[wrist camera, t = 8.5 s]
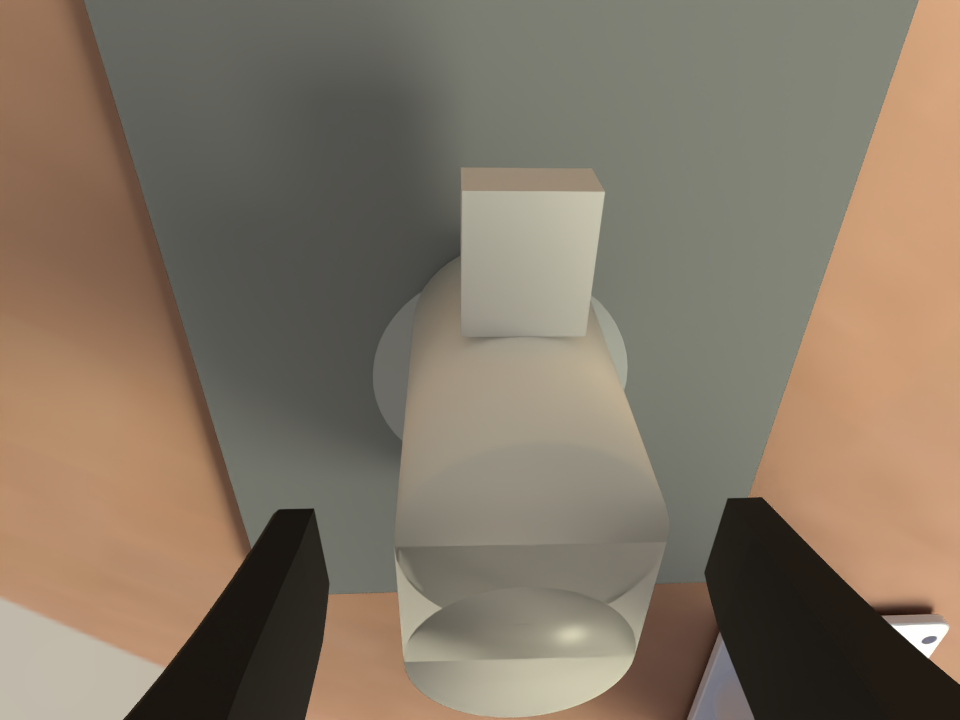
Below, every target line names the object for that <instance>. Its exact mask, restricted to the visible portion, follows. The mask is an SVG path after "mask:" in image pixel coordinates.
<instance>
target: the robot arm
mask: <svg viewBox="0 0 960 720" xmlns="http://www.w3.org/2000/svg"><path fill="white" fill-rule="evenodd" d="M704 575H705V579H706V583H707V587H708V591H709V595H710V598H711V602H712V606H713V610H714V613H715V617H716V620H717V624H718V628H719V631H720V632H719V635H718V637H717V640H716V643H715V645H714V648H713V651H712V653H711V656H710V659H709V662H708V664H707V667H706V670H705V672H704V675H703V678H702V680H701V683H700V686H699V688H698V691H697V694H696V697H695V699H694V702H693V705H692V707H691V710H690V713H689V715H688V718H687V720H960V685H959V684H958V683H957V682H956V681H955V680H953V679H952V678H951V677H950V676H949V675H947V674H946V673H945V672H944V671H943V670H941V669H940V668H939V667H938V666H937V665H935V664H934V663H933V662H932V661H931V660H930V659H928V658H929V656H930V655H931V654H932V652H933V651H934V649H935V648H936V647H937V645H938V644H939V643H940V641H941V640H942V638H943V637H944V636H945V634H946V633H947V631H948V629H949V625H948V623H947V622H946V621H945V619H944V618H943V616H941V615H938V614H917V615H887V616H881V615H879V614H878V613H877V612H876V611H875V610H874V609H873V608H872V607H871V606H870V605H869V604H868V603H867V602H866V601H865V600H864V599H863V598H862V597H860V596H859V595H858V594H857V593H856V592H855V591H854V590H853V589H852V588H851V587H850V586H849V585H848V584H847V583H846V582H845V581H844V580H843V579H842V578H841V577H840V576H839V575H838V574H837V573H836V572H835V571H834V570H833V569H832V568H831V567H830V566H829V565H828V564H827V563H826V562H825V561H824V560H823V559H822V558H821V557H820V556H819V555H818V554H817V553H816V552H815V551H814V550H813V549H812V548H811V547H810V546H809V545H808V544H807V543H806V542H805V541H804V540H803V539H802V538H801V537H800V536H799V535H798V534H797V533H796V532H795V531H794V530H793V529H792V528H791V527H790V526H789V525H788V523H787V522H786V521H785V520H784V519H783V518H782V517H781V516H780V515H779V514H778V513H777V512H776V511H775V510H774V509H773V508H772V507H771V506H770V505H769V504H768V503H767V502H766V501H765V500H764V499H763V498H762V497H758V498H727V501H726V505H725V508H724V511H723V514H722V517H721V521H720V524H719V527H718V530H717V533H716V536H715V540H714V543H713V546H712V549H711V552H710V556H709V559H708V562H707V565H706V568H705V571H704ZM329 585H330V583H329V578H328V573H327V568H326V563H325V558H324V554H323V549H322V544H321V539H320V534H319V529H318V524H317V520H316V515H315V510H314V508H310V509H278V510H277V511H276V512H275V513H274V514H273V515H272V517H271V518H270V520H269V522H268V523H267V525H266V527H265V528H264V530H263V532H262V533H261V535H260V536H259V538H258V540H257V541H256V543H255V544H254V546H253V548H252V549H251V551H250V552H249V554H248V555H247V557H246V558H245V560H244V562H243V563H242V565H241V566H240V568H239V569H238V571H237V572H236V574H235V575H234V577H233V578H232V580H231V581H230V582H229V584H228V585H227V587H226V588H225V590H224V591H223V592H222V594H221V595H220V597H219V598H218V599H217V601H216V602H215V604H214V605H213V607H212V608H211V609H210V611H209V612H208V614H207V615H206V616H205V618H204V619H203V621H202V622H201V623H200V625H199V626H198V627H197V629H196V630H195V631H194V633H193V634H192V635H191V637H190V638H189V639H188V641H187V642H186V643H185V644H184V646H183V647H182V648H181V650H180V651H179V652H178V653H177V655H176V656H175V657H174V659H173V660H172V661H171V662H170V664H169V665H168V666H167V668H166V669H165V670H164V672H163V673H162V674H161V675H160V676H159V678H158V679H157V680H156V681H155V683H154V684H153V685H152V686H151V687H150V689H149V690H148V691H147V692H146V693H145V695H144V696H143V697H142V698H141V699H140V701H139V702H138V703H137V704H136V705H135V706H134V708H133V709H132V710H131V711H130V712H129V714H128V715H127V716H126V717H125V718H124V719H123V720H305V717H306V713H307V708H308V704H309V700H310V696H311V691H312V687H313V683H314V678H315V674H316V670H317V665H318V661H319V656H320V652H321V647H322V643H323V636H324V628H325V620H326V612H327V603H328V594H329Z"/></svg>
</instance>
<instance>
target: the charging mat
mask: <svg viewBox="0 0 960 720" xmlns="http://www.w3.org/2000/svg"><path fill="white" fill-rule="evenodd" d="M84 3H85V7H86V10H87V13H88V16H89V20H90V23H91V26H92V29H93V33H94V36H95V39H96V43H97V46H98V49H99V52H100V56H101V59H102V62H103V65H104V69H105V72H106V75H107V79H108V82H109V85H110V88H111V92H112V95H113V98H114V101H115V105H116V108H117V111H118V115H119V118H120V121H121V124H122V128H123V131H124V134H125V137H126V141H127V144H128V147H129V150H130V154H131V157H132V160H133V164H134V167H135V170H136V173H137V177H138V180H139V183H140V186H141V190H142V193H143V196H144V200H145V203H146V206H147V209H148V213H149V216H150V219H151V222H152V226H153V229H154V232H155V236H156V239H157V242H158V245H159V249H160V252H161V255H162V258H163V262H164V265H165V268H166V272H167V275H168V278H169V281H170V285H171V288H172V291H173V294H174V298H175V301H176V304H177V307H178V311H179V314H180V317H181V321H182V324H183V327H184V330H185V334H186V337H187V340H188V343H189V347H190V350H191V353H192V357H193V360H194V363H195V366H196V370H197V373H198V376H199V379H200V383H201V386H202V389H203V393H204V396H205V399H206V402H207V406H208V409H209V412H210V415H211V419H212V422H213V425H214V428H215V432H216V435H217V438H218V442H219V445H220V448H221V451H222V455H223V458H224V461H225V464H226V468H227V471H228V474H229V478H230V481H231V484H232V487H233V491H234V494H235V497H236V500H237V504H238V507H239V510H240V514H241V517H242V520H243V523H244V527H245V530H246V533H247V536H248V540H249V543H250V546H251V549H252V548H253V546H254V544H255V543H256V541H257V540H258V538H259V536H260V535H261V533H262V532H263V530H264V528H265V527H266V525H267V523H268V522H269V520H270V518H271V517H272V515H273V514H274V513H275V512H276V511H277V510H278V509H310V508H314V510H315V515H316V520H317V524H318V529H319V534H320V539H321V544H322V549H323V554H324V558H325V563H326V568H327V573H328V578H329V583H330V585H329V594H353V593H384V592H398V588H397V576H396V564H395V552H394V532H395V521H396V509H397V498H398V487H399V476H400V465H401V454H402V442H403V431H404V420H405V409H406V398H407V386H408V375H409V364H410V353H411V342H412V331H413V319H414V313H415V308H416V305H417V302H418V299H419V297H420V295H421V293H422V291H423V289H424V287H425V286H426V285H427V283H428V282H429V280H430V279H431V278H432V277H433V276H434V275H435V274H436V273H437V272H438V271H439V270H440V269H441V268H442V267H444V266H445V265H446V264H447V263H449V262H450V261H452V260H454V259H455V258H457V257H458V256H460V252H461V167H466V168H592V169H593V171H594V173H595V175H596V177H597V178H598V180H599V182H600V184H601V185H602V187H603V189H604V191H605V196H604V203H603V210H602V218H601V225H600V233H599V240H598V247H597V255H596V262H595V270H594V277H593V284H592V292H591V302H592V305H593V308H594V310H595V313H596V316H597V318H598V321H599V324H600V327H601V329H602V332H603V335H604V338H605V340H606V343H607V346H608V349H609V351H610V354H611V357H612V360H613V362H614V365H615V368H616V370H617V373H618V376H619V379H620V381H621V384H622V387H623V390H624V392H625V395H626V398H627V401H628V403H629V406H630V409H631V412H632V414H633V417H634V420H635V422H636V425H637V428H638V431H639V433H640V436H641V439H642V442H643V444H644V447H645V450H646V453H647V455H648V458H649V461H650V464H651V466H652V469H653V472H654V474H655V477H656V480H657V483H658V485H659V488H660V491H661V494H662V496H663V499H664V502H665V505H666V508H667V513H668V517H669V532H668V538H667V543H666V546H665V550H664V553H663V557H662V561H661V564H660V568H659V571H658V575H657V578H656V582H655V584H667V583H699V582H706V579H705V575H704V571H705V568H706V565H707V562H708V559H709V556H710V552H711V549H712V546H713V543H714V540H715V536H716V533H717V530H718V527H719V524H720V521H721V517H722V514H723V511H724V508H725V505H726V501H727V498H748V496H749V493H750V490H751V487H752V484H753V481H754V478H755V475H756V472H757V469H758V466H759V463H760V461H761V458H762V455H763V452H764V449H765V446H766V443H767V440H768V437H769V434H770V431H771V429H772V426H773V423H774V420H775V417H776V414H777V411H778V408H779V405H780V402H781V399H782V396H783V394H784V391H785V388H786V385H787V382H788V379H789V376H790V373H791V370H792V367H793V364H794V362H795V359H796V356H797V353H798V350H799V347H800V344H801V341H802V338H803V335H804V332H805V330H806V327H807V324H808V321H809V318H810V315H811V312H812V309H813V306H814V303H815V300H816V297H817V295H818V292H819V289H820V286H821V283H822V280H823V277H824V274H825V271H826V268H827V265H828V263H829V260H830V257H831V254H832V251H833V248H834V245H835V242H836V239H837V236H838V233H839V230H840V228H841V225H842V222H843V219H844V216H845V213H846V210H847V207H848V204H849V201H850V198H851V196H852V193H853V190H854V187H855V184H856V181H857V178H858V175H859V172H860V169H861V166H862V163H863V161H864V158H865V155H866V152H867V149H868V146H869V143H870V140H871V137H872V134H873V131H874V129H875V126H876V123H877V120H878V117H879V114H880V111H881V108H882V105H883V102H884V99H885V96H886V94H887V91H888V88H889V85H890V82H891V79H892V76H893V73H894V70H895V67H896V64H897V62H898V59H899V56H900V53H901V50H902V47H903V44H904V41H905V38H906V35H907V32H908V29H909V27H910V24H911V21H912V18H913V15H914V12H915V9H916V6H917V3H918V0H84Z"/></svg>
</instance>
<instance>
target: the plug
mask: <svg viewBox="0 0 960 720" xmlns="http://www.w3.org/2000/svg"><path fill="white" fill-rule="evenodd" d="M604 196H605V191H604V189H603V187H602V185H601V184H600V182H599V180H598V178H597V177H596V175H595V173H594V171H593V169H592V168H466V167H461V252H460V256H458V257H457V258H455V259H454V260H452V261H450V262H449V263H447V264H446V265H445V266H444V267H442V268H441V269H440V270H439V271H438V272H437V273H436V274H435V275H434V276H433V277H432V278H431V279H430V280H429V282H428V283H427V285H426V286H425V287H424V289H423V291H422V293H421V295H420V297H419V299H418V302H417V305H416V308H415V313H414V319H413V331H412V342H411V353H410V364H409V375H408V386H407V398H406V409H405V420H404V431H403V442H402V454H401V465H400V476H399V487H398V498H397V509H396V521H395V532H394V552H395V564H396V576H397V588H398V599H399V611H400V623H401V635H402V647H403V658H404V665H405V670H406V672H407V675H408V677H409V679H410V680H411V681H412V683H413V684H414V686H415V687H416V688H417V689H418V690H420V691H421V692H422V693H423V694H424V695H426V696H427V697H429V698H430V699H432V700H434V701H435V702H437V703H439V704H441V705H444V706H446V707H449V708H451V709H454V710H458V711H461V712H465V713H469V714H474V715H481V716H488V717H529V716H537V715H543V714H548V713H554V712H558V711H561V710H565V709H569V708H571V707H574V706H577V705H580V704H582V703H584V702H587V701H589V700H591V699H593V698H595V697H597V696H599V695H600V694H602V693H604V692H605V691H607V690H608V689H609V688H611V687H612V686H613V685H614V684H616V683H617V682H618V681H619V680H620V679H621V678H622V677H623V676H624V674H625V673H626V672H627V670H628V669H629V667H630V666H631V664H632V661H633V659H634V656H635V653H636V649H637V646H638V642H639V639H640V635H641V632H642V628H643V625H644V621H645V617H646V614H647V610H648V607H649V603H650V600H651V596H652V593H653V589H654V585H655V582H656V578H657V575H658V571H659V568H660V564H661V561H662V557H663V553H664V550H665V546H666V543H667V538H668V532H669V517H668V513H667V508H666V505H665V502H664V499H663V496H662V494H661V491H660V488H659V485H658V483H657V480H656V477H655V474H654V472H653V469H652V466H651V464H650V461H649V458H648V455H647V453H646V450H645V447H644V444H643V442H642V439H641V436H640V433H639V431H638V428H637V425H636V422H635V420H634V417H633V414H632V412H631V409H630V406H629V403H628V401H627V398H626V395H625V392H624V390H623V387H622V384H621V381H620V379H619V376H618V373H617V370H616V368H615V365H614V362H613V360H612V357H611V354H610V351H609V349H608V346H607V343H606V340H605V338H604V335H603V332H602V329H601V327H600V324H599V321H598V318H597V316H596V313H595V310H594V308H593V305H592V302H591V292H592V284H593V277H594V270H595V262H596V255H597V247H598V240H599V233H600V225H601V218H602V210H603V203H604Z"/></svg>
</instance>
